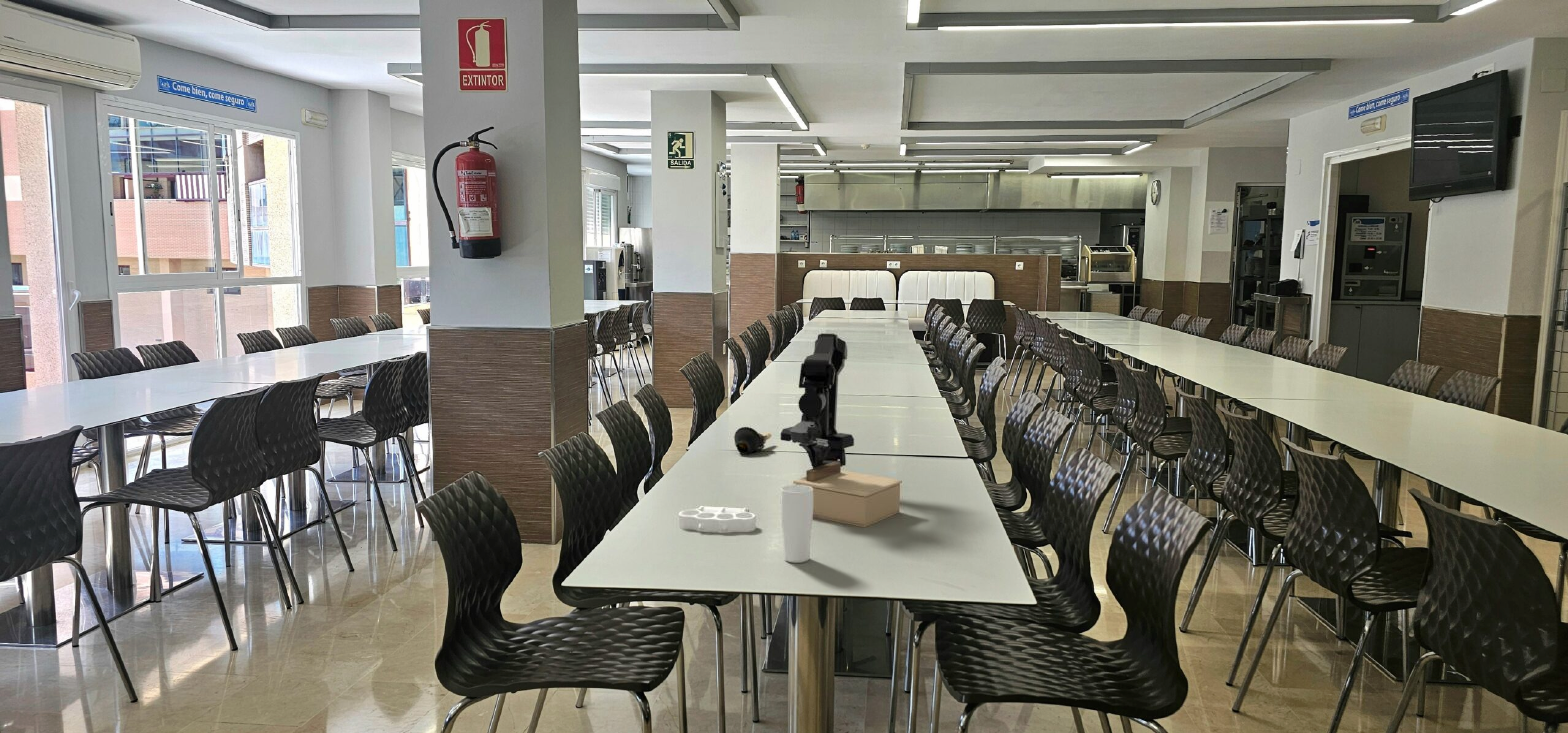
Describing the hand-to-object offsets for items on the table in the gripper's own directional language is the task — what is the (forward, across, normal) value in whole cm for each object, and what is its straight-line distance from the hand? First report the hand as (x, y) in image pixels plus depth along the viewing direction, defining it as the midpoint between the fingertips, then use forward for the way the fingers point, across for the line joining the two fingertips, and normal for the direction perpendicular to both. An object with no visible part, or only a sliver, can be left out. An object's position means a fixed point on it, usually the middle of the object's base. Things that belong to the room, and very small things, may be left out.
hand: (816, 471), depth 231 cm
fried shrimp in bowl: (+9, -54, +42) cm, 69 cm away
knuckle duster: (+10, -9, -27) cm, 30 cm away
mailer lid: (+2, +9, 0) cm, 9 cm away
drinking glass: (+9, +20, -36) cm, 42 cm away
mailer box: (+9, +9, 0) cm, 13 cm away
